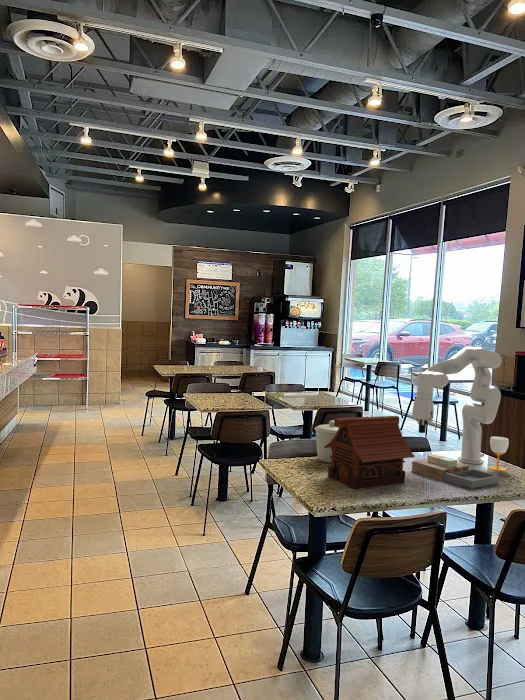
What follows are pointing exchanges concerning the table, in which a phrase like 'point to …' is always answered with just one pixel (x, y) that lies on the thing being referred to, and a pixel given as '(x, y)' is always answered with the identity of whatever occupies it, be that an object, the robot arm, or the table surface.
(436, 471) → the tan wooden board
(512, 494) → the table surface
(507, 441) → the cup
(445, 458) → the sage block
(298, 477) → the table surface
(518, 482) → the table surface
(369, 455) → the house
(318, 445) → the canister
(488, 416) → the robot arm
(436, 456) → the maple block
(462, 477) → the tray
